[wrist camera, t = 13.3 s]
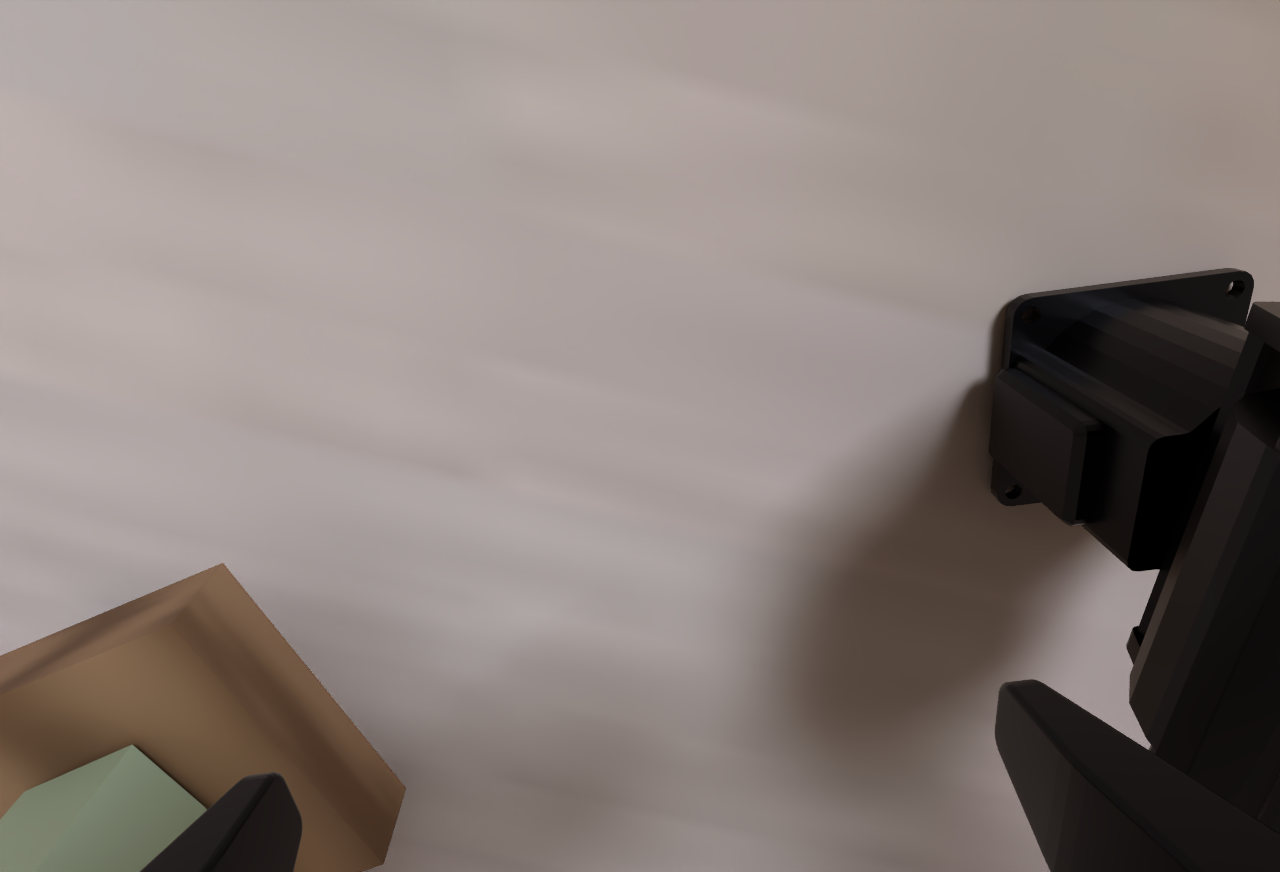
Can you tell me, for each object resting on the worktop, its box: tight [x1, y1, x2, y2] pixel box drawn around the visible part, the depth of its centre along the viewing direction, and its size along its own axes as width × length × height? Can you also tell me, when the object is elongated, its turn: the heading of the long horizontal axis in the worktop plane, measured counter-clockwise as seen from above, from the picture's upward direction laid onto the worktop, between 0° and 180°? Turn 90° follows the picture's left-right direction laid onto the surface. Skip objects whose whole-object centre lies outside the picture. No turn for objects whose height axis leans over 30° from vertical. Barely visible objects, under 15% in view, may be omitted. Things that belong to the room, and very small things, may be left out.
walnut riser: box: [0, 563, 406, 872], centre depth 25 cm, size 11×11×4 cm
